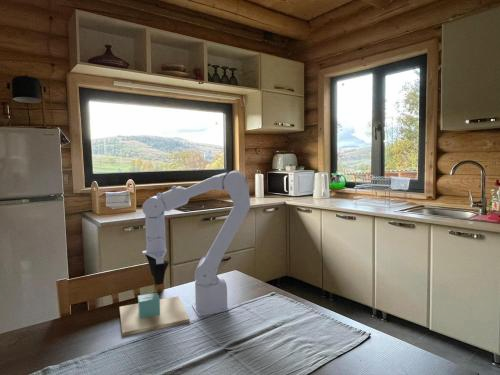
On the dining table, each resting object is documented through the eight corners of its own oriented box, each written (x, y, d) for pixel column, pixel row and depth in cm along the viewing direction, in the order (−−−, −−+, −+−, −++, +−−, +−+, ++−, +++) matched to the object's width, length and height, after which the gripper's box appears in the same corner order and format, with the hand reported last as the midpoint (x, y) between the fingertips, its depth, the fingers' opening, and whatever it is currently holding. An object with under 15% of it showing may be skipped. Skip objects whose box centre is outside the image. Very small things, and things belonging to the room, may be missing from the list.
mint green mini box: (157, 308, 101) (157, 292, 101) (160, 314, 97) (159, 298, 97) (138, 311, 99) (137, 295, 98) (140, 318, 95) (139, 301, 94)
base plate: (178, 299, 109) (177, 284, 109) (189, 322, 95) (189, 305, 94) (119, 309, 102) (118, 294, 102) (122, 336, 88) (121, 318, 87)
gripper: (139, 232, 105) (141, 273, 107) (144, 243, 92) (146, 290, 94) (162, 229, 108) (163, 270, 110) (170, 240, 95) (171, 286, 97)
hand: (157, 279), depth 102 cm, fingers open, 7 cm apart
